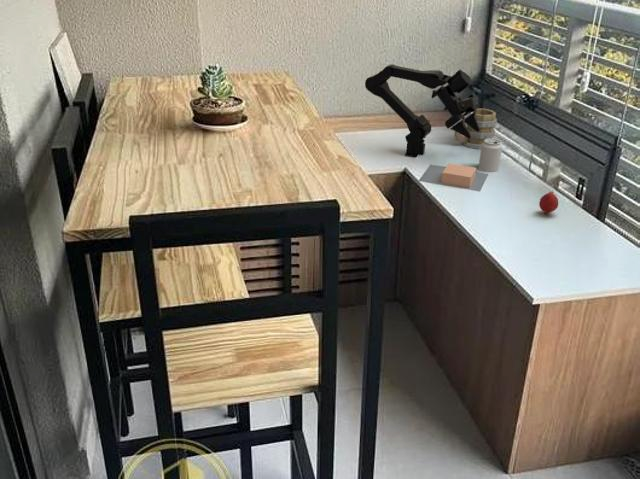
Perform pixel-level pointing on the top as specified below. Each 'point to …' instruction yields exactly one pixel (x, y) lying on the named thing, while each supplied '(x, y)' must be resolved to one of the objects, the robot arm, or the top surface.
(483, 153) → the can
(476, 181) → the baseplate
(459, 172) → the block
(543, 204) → the onion
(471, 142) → the tankard
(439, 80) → the robot arm
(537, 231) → the top surface
